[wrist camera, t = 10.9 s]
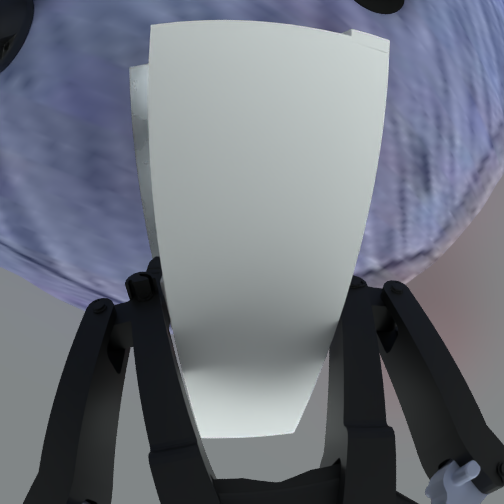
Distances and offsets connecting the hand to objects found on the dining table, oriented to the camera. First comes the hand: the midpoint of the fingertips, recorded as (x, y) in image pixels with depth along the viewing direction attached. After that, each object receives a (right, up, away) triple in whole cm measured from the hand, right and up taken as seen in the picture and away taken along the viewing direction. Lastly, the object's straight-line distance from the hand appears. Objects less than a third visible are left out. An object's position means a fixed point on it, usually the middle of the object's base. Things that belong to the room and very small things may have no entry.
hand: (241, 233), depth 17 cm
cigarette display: (0, 0, 0) cm, 1 cm away
